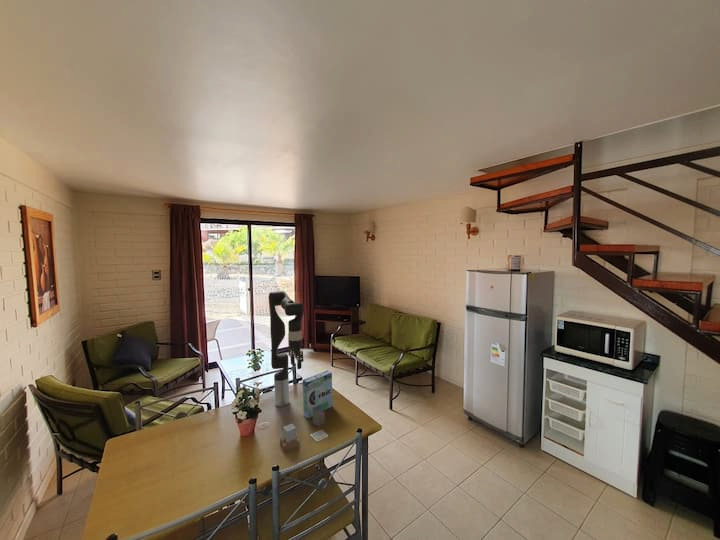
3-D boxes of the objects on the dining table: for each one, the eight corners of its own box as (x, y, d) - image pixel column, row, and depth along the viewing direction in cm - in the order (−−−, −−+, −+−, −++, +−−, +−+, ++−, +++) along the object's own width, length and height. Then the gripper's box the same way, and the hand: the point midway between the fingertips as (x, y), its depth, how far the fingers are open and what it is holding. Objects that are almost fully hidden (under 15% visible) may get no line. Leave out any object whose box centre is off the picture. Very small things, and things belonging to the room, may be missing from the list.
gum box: (328, 403, 189) (327, 370, 188) (333, 406, 186) (332, 372, 184) (303, 415, 176) (302, 379, 175) (307, 419, 172) (306, 382, 171)
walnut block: (280, 444, 150) (279, 437, 150) (295, 439, 154) (294, 432, 154) (283, 453, 143) (283, 445, 143) (299, 448, 147) (299, 440, 147)
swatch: (310, 435, 157) (310, 434, 157) (321, 430, 161) (321, 429, 161) (316, 441, 151) (316, 440, 151) (328, 436, 155) (328, 435, 155)
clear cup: (283, 438, 149) (282, 427, 149) (292, 434, 152) (291, 423, 152) (287, 443, 145) (287, 431, 145) (296, 438, 148) (296, 427, 148)
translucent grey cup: (312, 423, 168) (312, 413, 168) (318, 419, 172) (318, 409, 172) (318, 426, 165) (318, 416, 165) (325, 422, 169) (324, 412, 169)
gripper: (283, 336, 164) (284, 364, 165) (294, 342, 152) (295, 372, 153) (295, 334, 168) (296, 361, 169) (307, 339, 157) (308, 368, 158)
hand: (296, 366), depth 161 cm, fingers open, 8 cm apart
